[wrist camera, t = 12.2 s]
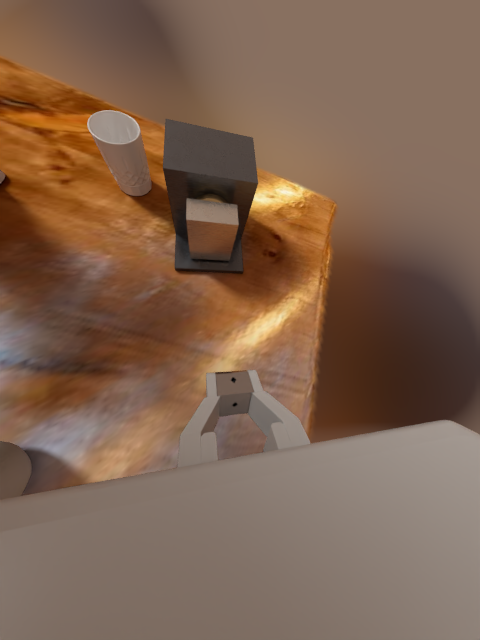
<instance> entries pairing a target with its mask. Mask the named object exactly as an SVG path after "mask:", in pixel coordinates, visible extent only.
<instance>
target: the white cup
mask: <svg viewBox="0 0 480 640" xmlns="http://www.w3.org/2000/svg"><path fill="white" fill-rule="evenodd" d="M88 129H89V131H90V133H91V135H92V137H93V139H94V140H95V142H96V144H97V146H98V148H99V150H100V152H101V154H102V156H103V158H104V160H105V162H106V164H107V166H108V167H109V169H110V171H111V173H112V175H113V176H114V178H115V179H116V181H117V183H118V185H119V187H120V189H121V190H122V191H123V192H125V193H126V194H129V195H132V196H142V195H145V194H147V193H148V192H149V191H150V190H151V185H152V183H151V179H150V174H149V167H148V163H147V158H146V153H145V149H144V144H143V140H142V135H141V131H140V127H139V125H138V123H137V122H136V121H135V120H134V119H133V118H132V117H130V116H128V115H126V114H124V113H121V112H118V111H111V110H105V111H100V112H97V113H95V114H93V115H92V116H91V117H90V118H89V120H88Z"/></svg>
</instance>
